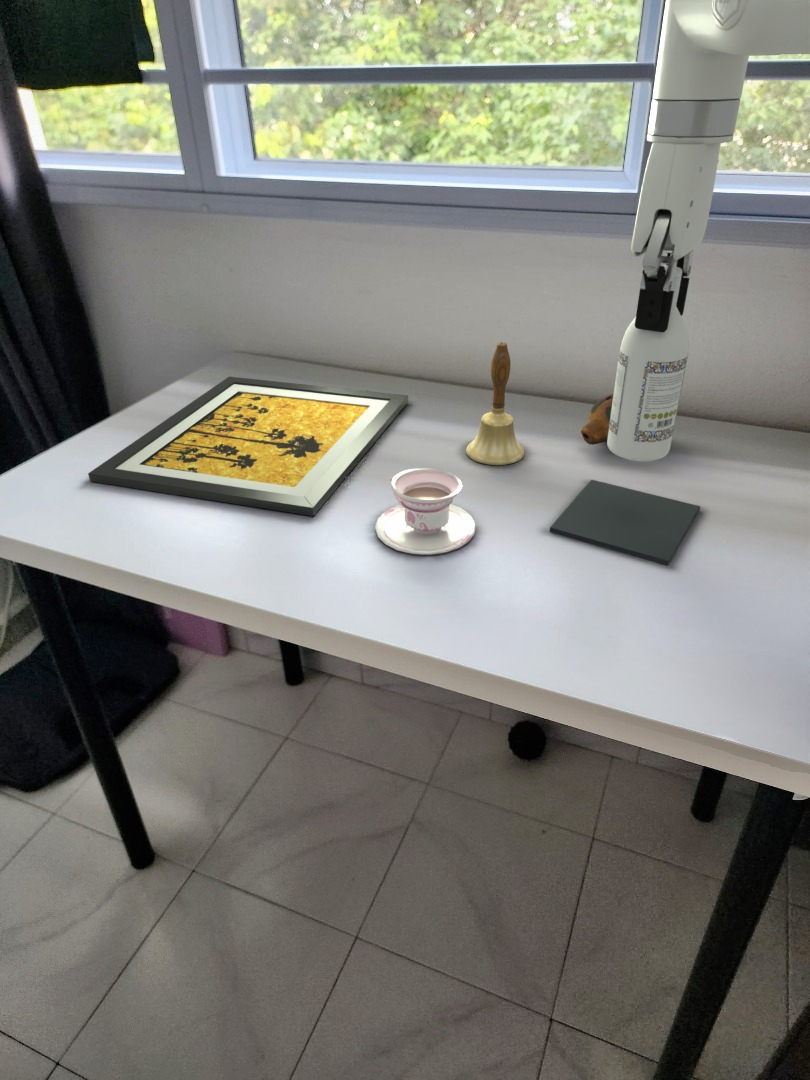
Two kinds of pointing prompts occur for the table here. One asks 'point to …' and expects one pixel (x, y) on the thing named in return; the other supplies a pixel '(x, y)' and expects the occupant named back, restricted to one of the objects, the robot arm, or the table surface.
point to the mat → (627, 521)
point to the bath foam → (649, 387)
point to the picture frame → (257, 444)
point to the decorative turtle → (598, 422)
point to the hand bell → (497, 420)
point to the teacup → (425, 513)
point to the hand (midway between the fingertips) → (659, 320)
